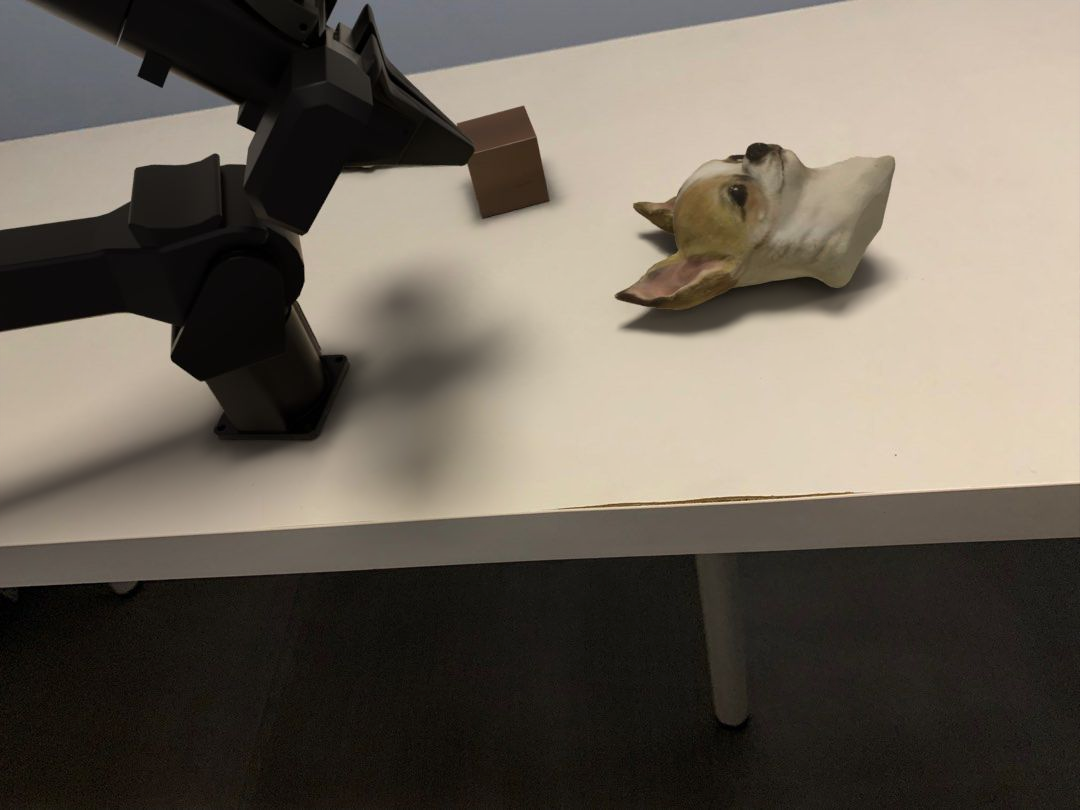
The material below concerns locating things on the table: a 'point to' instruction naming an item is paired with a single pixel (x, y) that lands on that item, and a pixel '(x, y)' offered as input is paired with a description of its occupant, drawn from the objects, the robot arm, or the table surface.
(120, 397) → the table surface
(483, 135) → the walnut block
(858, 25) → the table surface
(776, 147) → the ceramic sculpture
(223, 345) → the robot arm
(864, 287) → the table surface
